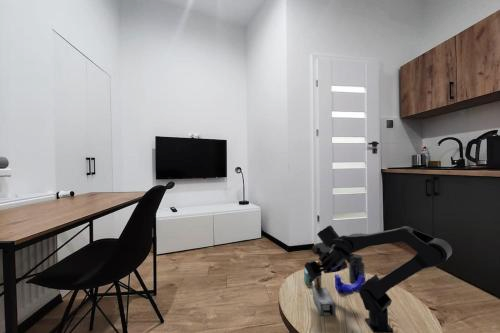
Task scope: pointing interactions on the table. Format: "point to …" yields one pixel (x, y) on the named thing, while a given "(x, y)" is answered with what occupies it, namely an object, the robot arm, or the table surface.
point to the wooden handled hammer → (319, 285)
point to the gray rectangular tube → (324, 301)
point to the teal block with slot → (308, 281)
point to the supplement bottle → (356, 268)
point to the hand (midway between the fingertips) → (316, 274)
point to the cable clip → (348, 288)
